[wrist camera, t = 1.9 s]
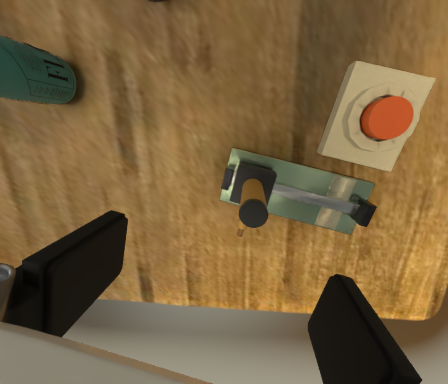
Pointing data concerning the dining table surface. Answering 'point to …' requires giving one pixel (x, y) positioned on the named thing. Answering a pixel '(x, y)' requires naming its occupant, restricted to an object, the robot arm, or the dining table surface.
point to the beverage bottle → (34, 74)
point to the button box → (355, 106)
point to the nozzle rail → (308, 192)
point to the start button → (387, 117)
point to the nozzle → (252, 195)
